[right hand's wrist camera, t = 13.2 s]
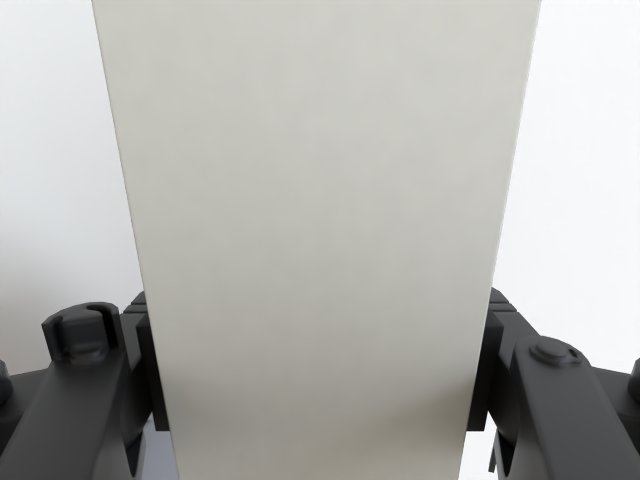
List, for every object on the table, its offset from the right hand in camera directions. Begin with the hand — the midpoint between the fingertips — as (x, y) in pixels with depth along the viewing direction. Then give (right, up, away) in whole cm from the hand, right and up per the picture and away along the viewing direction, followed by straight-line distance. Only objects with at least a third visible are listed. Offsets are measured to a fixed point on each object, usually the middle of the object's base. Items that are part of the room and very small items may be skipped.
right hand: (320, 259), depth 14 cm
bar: (0, +10, -3) cm, 10 cm away
